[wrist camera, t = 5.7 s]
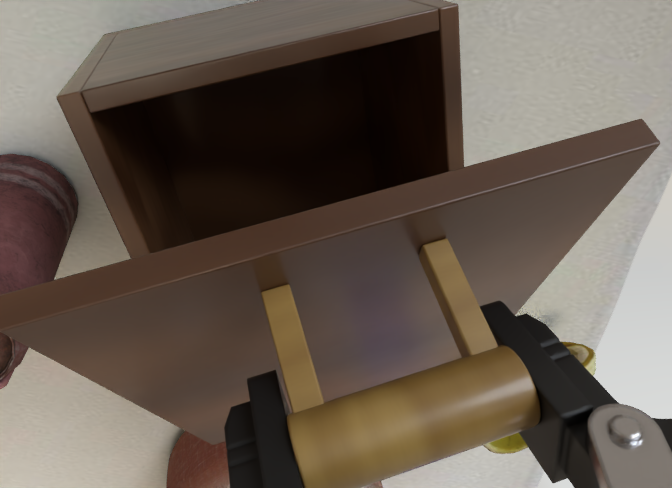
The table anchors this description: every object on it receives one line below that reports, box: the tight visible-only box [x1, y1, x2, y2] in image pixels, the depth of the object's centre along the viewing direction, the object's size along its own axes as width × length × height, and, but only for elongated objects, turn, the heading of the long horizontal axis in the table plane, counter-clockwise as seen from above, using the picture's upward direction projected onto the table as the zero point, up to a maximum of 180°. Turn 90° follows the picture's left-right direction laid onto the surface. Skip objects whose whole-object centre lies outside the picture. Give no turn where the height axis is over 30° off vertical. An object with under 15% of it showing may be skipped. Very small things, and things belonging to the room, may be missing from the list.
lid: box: [0, 119, 660, 488], centre depth 18 cm, size 18×15×5 cm
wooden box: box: [57, 0, 464, 259], centre depth 29 cm, size 18×15×13 cm
